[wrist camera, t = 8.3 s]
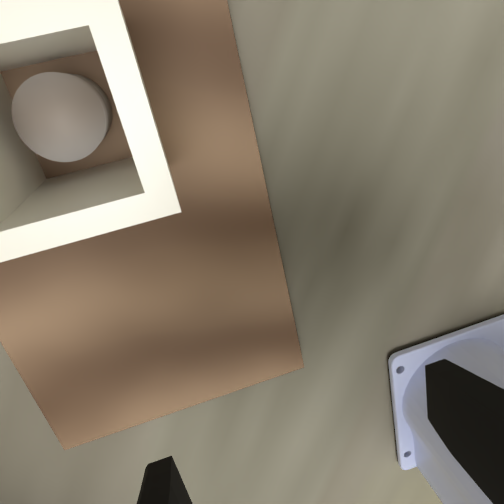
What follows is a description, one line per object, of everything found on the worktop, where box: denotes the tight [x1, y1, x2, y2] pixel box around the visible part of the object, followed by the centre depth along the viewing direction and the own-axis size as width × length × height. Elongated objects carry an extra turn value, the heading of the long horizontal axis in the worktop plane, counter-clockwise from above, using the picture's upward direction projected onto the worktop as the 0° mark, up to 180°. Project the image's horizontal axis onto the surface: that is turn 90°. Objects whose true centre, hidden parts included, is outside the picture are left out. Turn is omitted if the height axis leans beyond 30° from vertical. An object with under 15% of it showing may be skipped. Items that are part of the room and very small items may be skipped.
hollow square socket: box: [0, 0, 181, 262], centre depth 12 cm, size 5×5×6 cm
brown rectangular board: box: [0, 0, 304, 450], centre depth 16 cm, size 18×12×4 cm, turn 12°
